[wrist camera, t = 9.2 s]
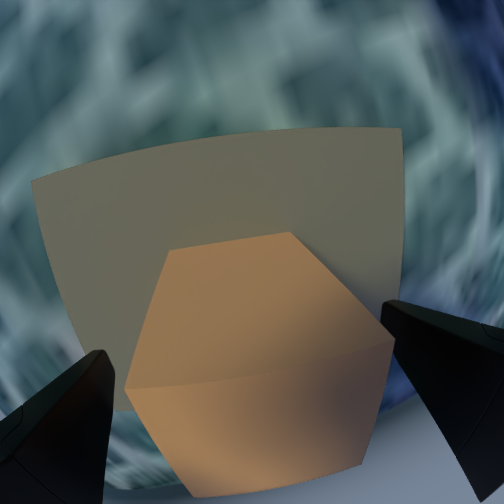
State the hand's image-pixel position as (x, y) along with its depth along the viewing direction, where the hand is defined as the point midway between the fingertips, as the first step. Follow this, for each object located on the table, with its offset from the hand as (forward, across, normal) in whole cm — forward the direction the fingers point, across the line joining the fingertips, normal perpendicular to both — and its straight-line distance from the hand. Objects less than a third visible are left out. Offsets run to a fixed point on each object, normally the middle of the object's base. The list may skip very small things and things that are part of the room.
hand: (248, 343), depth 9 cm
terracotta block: (+3, 0, 0) cm, 3 cm away
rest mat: (+4, 0, 0) cm, 4 cm away
